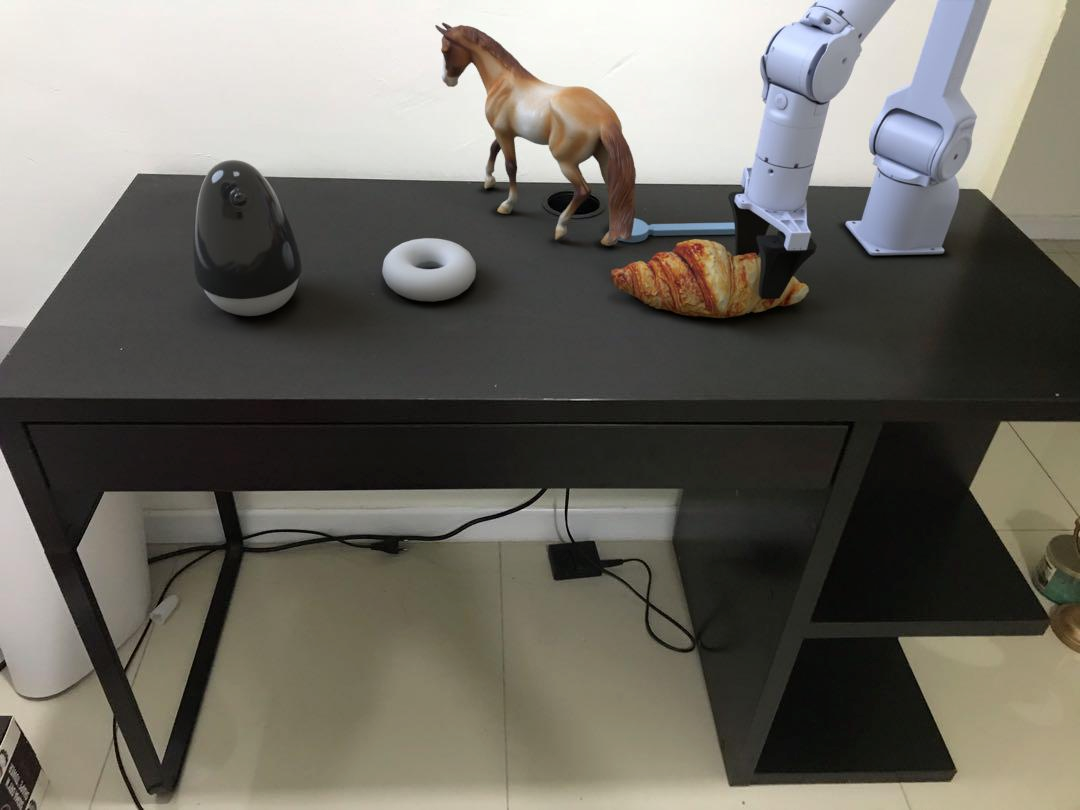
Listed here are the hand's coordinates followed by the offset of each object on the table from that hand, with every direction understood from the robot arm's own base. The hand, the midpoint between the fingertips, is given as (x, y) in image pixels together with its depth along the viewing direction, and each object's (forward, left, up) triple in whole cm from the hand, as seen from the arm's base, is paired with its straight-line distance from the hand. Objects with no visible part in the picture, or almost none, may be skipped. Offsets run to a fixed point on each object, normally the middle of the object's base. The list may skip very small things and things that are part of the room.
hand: (757, 277), depth 97 cm
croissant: (+5, 0, -3) cm, 6 cm away
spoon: (+4, -15, -3) cm, 16 cm away
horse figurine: (+23, -16, -3) cm, 28 cm away
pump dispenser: (+53, -2, -3) cm, 53 cm away
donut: (+35, -5, -3) cm, 35 cm away
